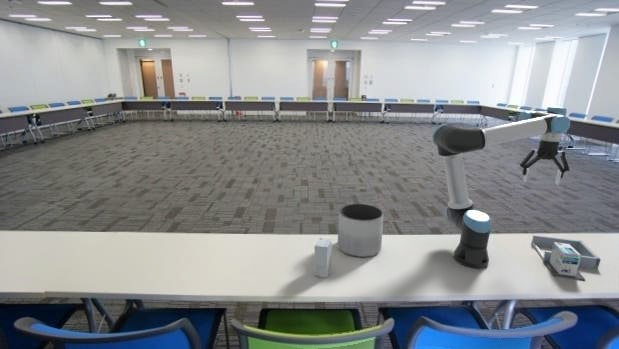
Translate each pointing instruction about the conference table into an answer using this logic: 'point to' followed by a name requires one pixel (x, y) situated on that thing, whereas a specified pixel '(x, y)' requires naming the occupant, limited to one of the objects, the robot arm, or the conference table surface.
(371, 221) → the planter
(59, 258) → the conference table surface
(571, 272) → the light bulb box
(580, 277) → the mat
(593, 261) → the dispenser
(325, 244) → the skincare box
